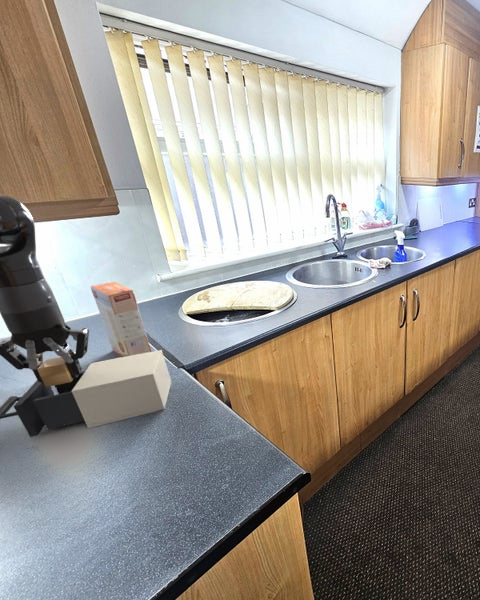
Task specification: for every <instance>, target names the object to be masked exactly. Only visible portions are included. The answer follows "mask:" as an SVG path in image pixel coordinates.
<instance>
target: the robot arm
mask: <svg viewBox="0 0 480 600" xmlns="http://www.w3.org/2000/svg"><path fill="white" fill-rule="evenodd" d="M56 299H57V298H56V297H55V294H54V292H53V289H52V287H51V286H50V285H49V283H48V281H47V279H46V278H45V275H44V273H43V270H42V267H41V265H40V263H39V261H38V259H37V243H36V225H35V219H34V217H33V216H32V213H31V212H30V210H29V208H27V206H26V205H25V204H24V203H22V202H21V201H20V200H19V199H17V198H15V197H12V196H10V195H6V194H0V316H1V318H2V320H3V322H4V324H5V326H6V328H7V330H8V331H9V333H10V334H11V337H10V339H8V340H2V341H1V342H0V356H1V358H3V359H4V360H5V361H7V362H8V363H9V364H10V365H11V366H12V367H14V369H16V370H19V371H21V370H24V369H28V370H31V371H32V372H33V375H34V376H35V378H36V381H37V380H38V381H39V382H42V383H43V384H44V382H43V380H42V378H41V376H40V374H39V372H38V370H37V369H38V368H39V367H40V366H41V365H42V364H43V363H44V353H46V352H54V353H55V354H56V356H58V357H62V358H63V360H64V361H65V362H66V363H67V364H66V365H67V367H68V370H69V372H70V374H71V376H72V378H77V377H78V376H79V374H80V373H81V372H83V368H82V365H81V363H80V361H79V360H80V359H83V358H84V357H85V355H86V354H87V352H88V345H89V336H90V329H89V328H88V327H83V328H81V329H76V328H71V327H70V326H69V325H67V323H66V322H65V318H64V316H63V314H62V311H61V308H60V306H59V304H58V301H57V300H56ZM70 336H71V337H72V339H73V340H74V341H76V344H75V350H74V349H73V347H72V345H71V343H70V342H69V341H68V339H69V337H70ZM18 347H20V348H21V349H24V350H26V355H25V354H24V353H23V352H21V351H20V350H19V349H18Z"/></svg>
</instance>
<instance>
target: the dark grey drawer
mask: <svg viewBox="0 0 480 600" xmlns="http://www.w3.org/2000/svg"><path fill="white" fill-rule="evenodd" d="M85 371H86V370H82V371H81V373H80V374H79V376H78V377H77V378H74V379H73V380H72V382H69V383H64V384H59V385H55V386H54V388H55V390H56V392H57V393H56V394H55V392H54V390H53V388H52V386H50V387H46V386H45V384H43V383H42V382H39V381H38V380H37V379H36V381H35V382H34V383H33V384H32V385H31V386H30V387H29V388H28V389H27V390H26V391H25V393H24V394H23V395H22V396H16V395H11V396H10V397H8V399H7V400H5V401H4V403H3V404H2V405H1V406H0V420H2V419H6V418H10V417H16V416H18V418H19V419H20V421H21V424H22V425H23V427H24V428H25V431H26V433H27V435H28V437H29V438H34V437H37V436H39V434H40V433H41V431H42V430H43V429H44V428H45V427H46V429H47V430H48V431H49V430H53V429H57V428H61V427H65V426H70V425H74V424H77V423H81V422H85V420H84V418H83V416H82V413H81V411H80V409H79V407H78V404H77V402H76V400H75V398H74V395H73V393H72V390H73V388H74V387H75V385H76V384H77V383H78V381H79V380H80V378H81V377H82V376H83V374H84V373H85ZM12 408H14V410H15V411H13V412H9V411H10V410H11V409H12Z"/></svg>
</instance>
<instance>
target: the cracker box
mask: <svg viewBox="0 0 480 600" xmlns="http://www.w3.org/2000/svg"><path fill="white" fill-rule="evenodd" d="M90 290H91V292H92V295H93V298H94V301H95V304H96V307H97V309H98V313H99V315H100V318H101V320H102V323H103V327H104V329H105V332H106V335H107V338H108V341H109V343H110V346H111V350H112V351H113V352H114V353H115V354H117V355H118V356H119V357H120V358H121V357H126V356H131V355H137V354H142V353H147V352H152V348H151V345H150V341H149V338H148V336H147V332H146V329H145V326H144V322H143V320H142V315H141V312H140V309H139V305H138V302H137V299H136V296H135V292H134V289H131V288H129V287H128V286H124V285H122V284H120V283H118V282H116V281H109V282H105V283H100V284H95V285H91V286H90Z"/></svg>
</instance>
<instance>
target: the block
mask: <svg viewBox="0 0 480 600" xmlns="http://www.w3.org/2000/svg"><path fill="white" fill-rule="evenodd" d="M66 364H67V363H66V362H65V361H64V360H63V358H62V357H61V356H58V357H53V358H48V359H45V360H43V364H42V365H41V366H40V367H39V368H38V369H37V370H38V372H39V374H40V376H41V378H42V380H43V382H44V384H45V386H46V387H50V386H51V387H53V386H54V387H55V385H59V384H64V383H69V382H72V380H73V379H74V378H72V376H71V374H70V372H69V370H68V367H67V365H66Z"/></svg>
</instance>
